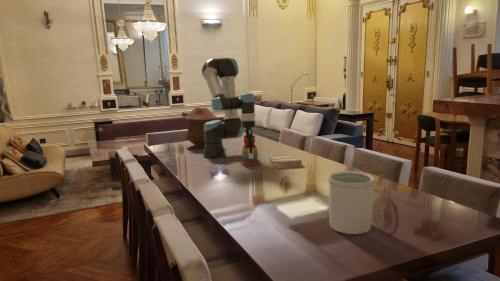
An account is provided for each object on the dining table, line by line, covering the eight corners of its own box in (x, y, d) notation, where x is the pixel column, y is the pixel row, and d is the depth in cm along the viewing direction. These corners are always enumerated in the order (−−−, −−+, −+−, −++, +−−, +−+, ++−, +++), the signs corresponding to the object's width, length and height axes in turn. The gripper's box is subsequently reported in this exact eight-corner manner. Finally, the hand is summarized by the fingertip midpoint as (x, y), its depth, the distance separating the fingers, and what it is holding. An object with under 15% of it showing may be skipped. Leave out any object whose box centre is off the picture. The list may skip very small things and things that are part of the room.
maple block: (269, 162, 219) (269, 156, 218) (295, 161, 220) (295, 154, 219) (273, 169, 203) (273, 162, 202) (301, 167, 204) (301, 160, 203)
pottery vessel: (183, 144, 287) (180, 107, 281) (215, 141, 294) (212, 105, 289) (188, 150, 262) (185, 109, 257) (222, 147, 270) (219, 107, 264)
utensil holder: (364, 216, 131) (365, 169, 128) (380, 234, 116) (381, 181, 113) (324, 218, 130) (323, 171, 127) (335, 236, 116) (334, 184, 113)
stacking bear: (260, 162, 218) (259, 133, 215) (259, 166, 208) (257, 136, 205) (242, 162, 219) (241, 134, 216) (240, 167, 209) (238, 136, 206)
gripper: (257, 122, 197) (258, 160, 201) (253, 117, 221) (254, 151, 225) (243, 123, 196) (245, 161, 200) (240, 118, 221) (242, 151, 225)
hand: (250, 155), depth 213 cm, fingers open, 13 cm apart
